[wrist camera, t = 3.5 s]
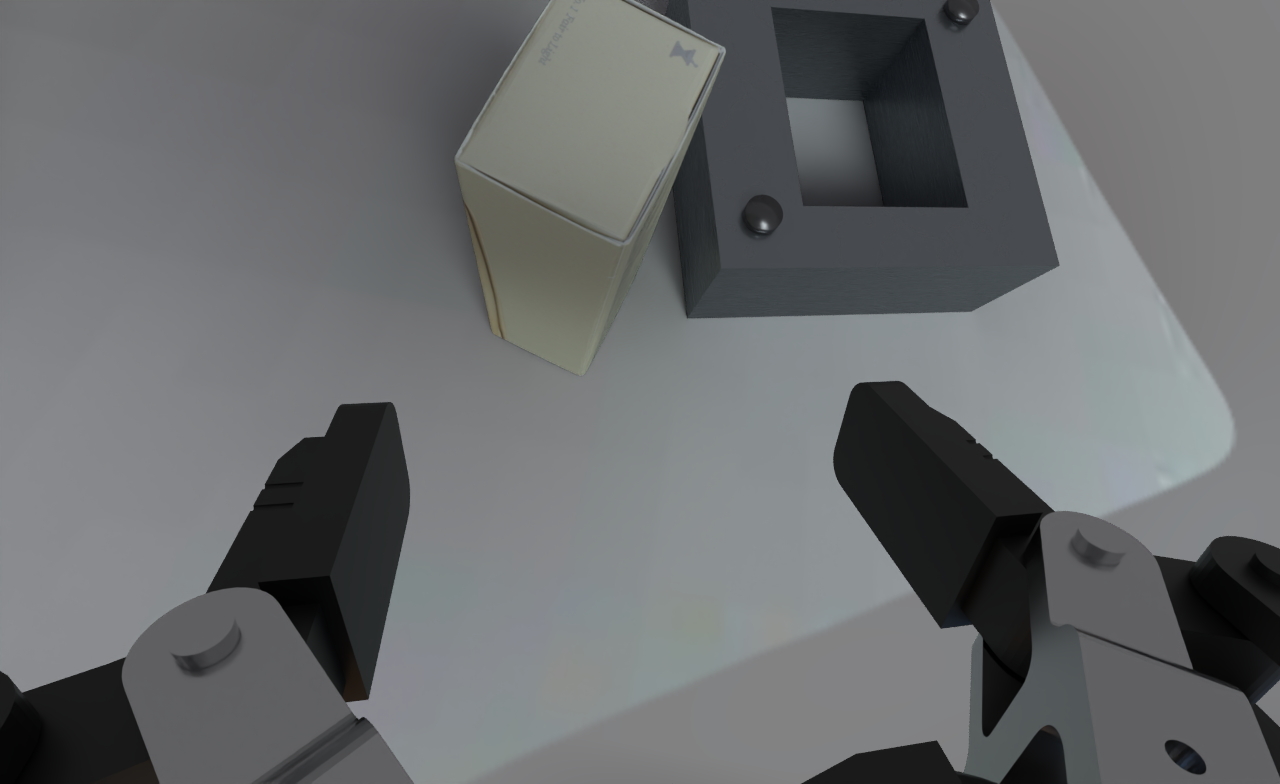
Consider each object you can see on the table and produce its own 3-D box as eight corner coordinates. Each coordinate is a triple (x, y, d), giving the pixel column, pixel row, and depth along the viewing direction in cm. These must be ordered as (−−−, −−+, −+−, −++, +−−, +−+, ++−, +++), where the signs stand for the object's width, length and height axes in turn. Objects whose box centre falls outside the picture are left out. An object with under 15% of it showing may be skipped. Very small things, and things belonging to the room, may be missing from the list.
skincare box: (555, 217, 26) (570, -45, 14) (647, 262, 26) (735, 40, 14) (487, 338, 24) (439, 153, 12) (586, 386, 24) (630, 247, 13)
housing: (687, 318, 26) (724, 263, 21) (657, 47, 29) (683, -60, 24) (971, 311, 28) (1068, 261, 23) (915, 62, 31) (990, -31, 26)
